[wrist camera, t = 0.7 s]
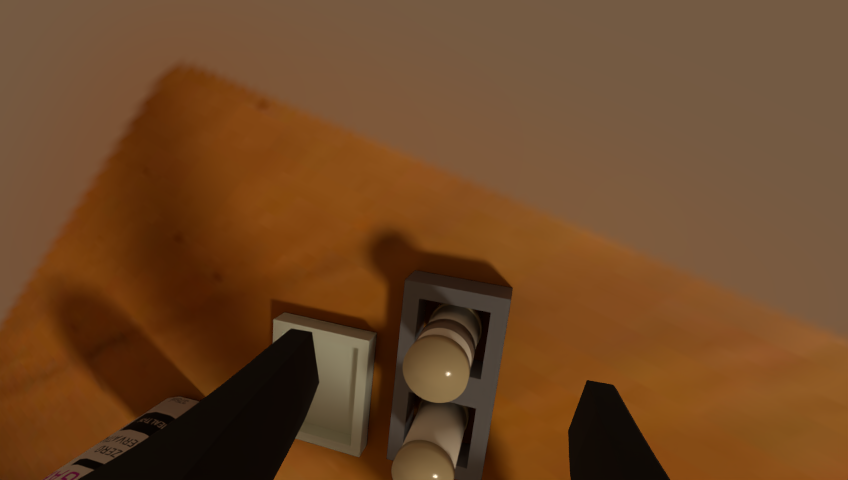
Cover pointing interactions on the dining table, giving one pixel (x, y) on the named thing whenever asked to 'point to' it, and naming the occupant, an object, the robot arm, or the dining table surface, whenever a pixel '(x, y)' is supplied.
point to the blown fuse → (443, 354)
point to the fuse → (432, 443)
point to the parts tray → (336, 383)
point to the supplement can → (124, 438)
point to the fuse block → (481, 373)
